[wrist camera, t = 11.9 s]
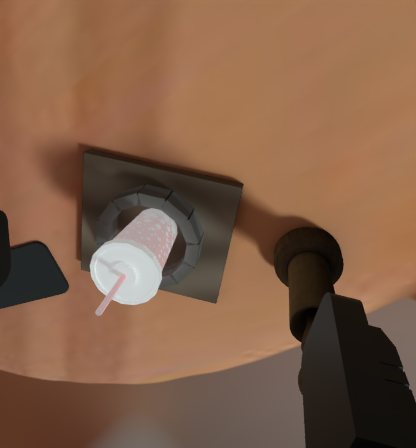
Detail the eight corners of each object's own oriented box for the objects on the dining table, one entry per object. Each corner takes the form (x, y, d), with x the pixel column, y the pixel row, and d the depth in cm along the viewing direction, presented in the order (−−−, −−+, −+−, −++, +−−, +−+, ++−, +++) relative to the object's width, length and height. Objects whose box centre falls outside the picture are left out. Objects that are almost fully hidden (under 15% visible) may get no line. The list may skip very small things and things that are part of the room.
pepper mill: (276, 282, 41) (273, 433, 25) (271, 228, 39) (264, 359, 22) (341, 280, 40) (381, 439, 24) (340, 224, 37) (384, 360, 21)
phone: (71, 292, 46) (-21, 314, 51) (74, 288, 47) (-17, 310, 52) (41, 240, 44) (-53, 268, 48) (44, 237, 45) (-48, 265, 49)
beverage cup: (145, 189, 38) (78, 260, 25) (195, 223, 38) (155, 309, 26) (118, 232, 41) (46, 316, 28) (166, 264, 41) (116, 359, 29)
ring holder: (88, 149, 38) (70, 159, 35) (243, 184, 37) (239, 197, 34) (85, 264, 45) (70, 281, 41) (217, 297, 43) (212, 318, 40)
